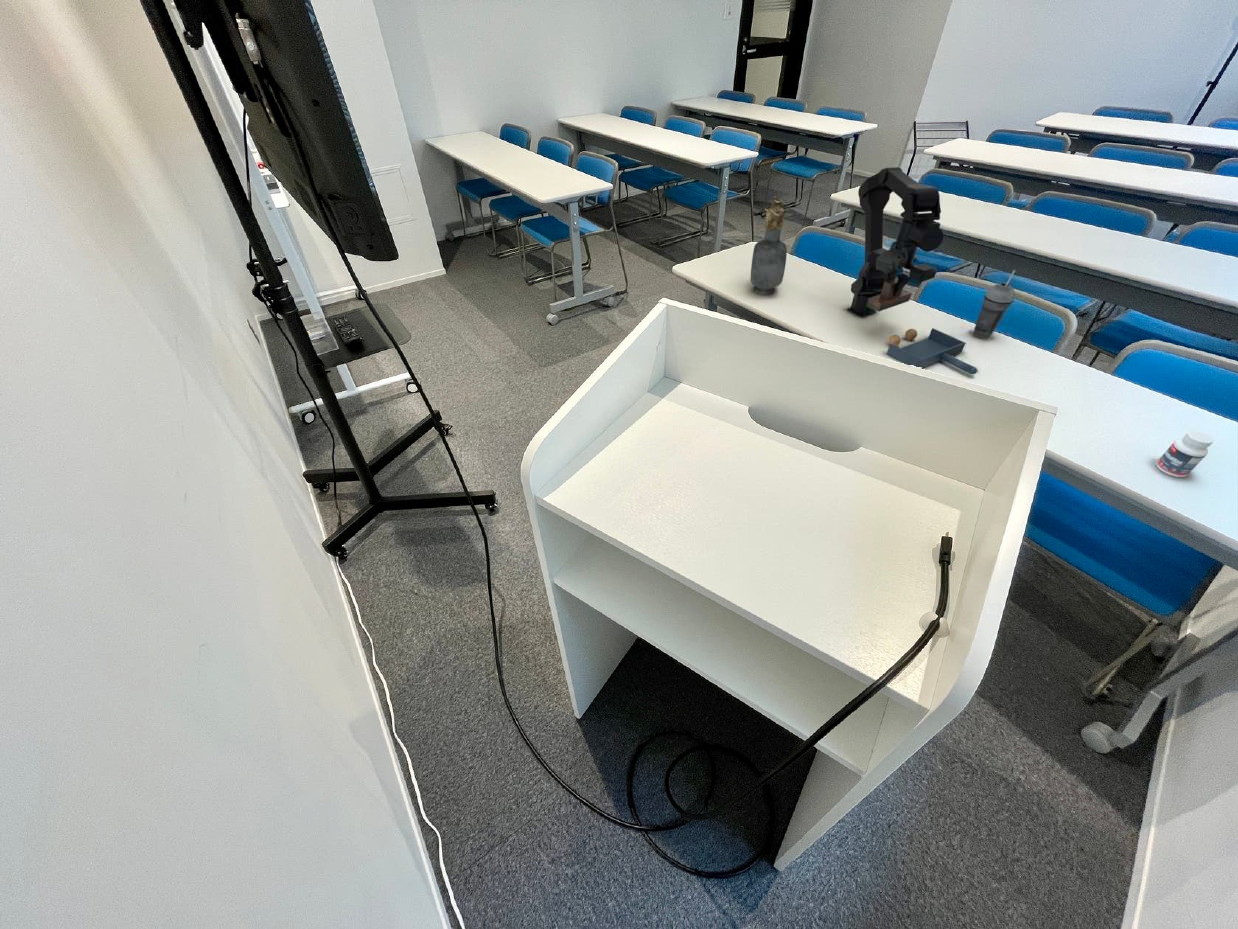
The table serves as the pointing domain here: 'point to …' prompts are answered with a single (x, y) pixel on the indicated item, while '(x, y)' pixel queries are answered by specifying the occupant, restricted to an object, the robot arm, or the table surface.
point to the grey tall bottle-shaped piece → (770, 252)
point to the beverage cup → (994, 308)
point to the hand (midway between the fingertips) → (890, 293)
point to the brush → (888, 297)
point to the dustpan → (932, 352)
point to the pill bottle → (1185, 454)
